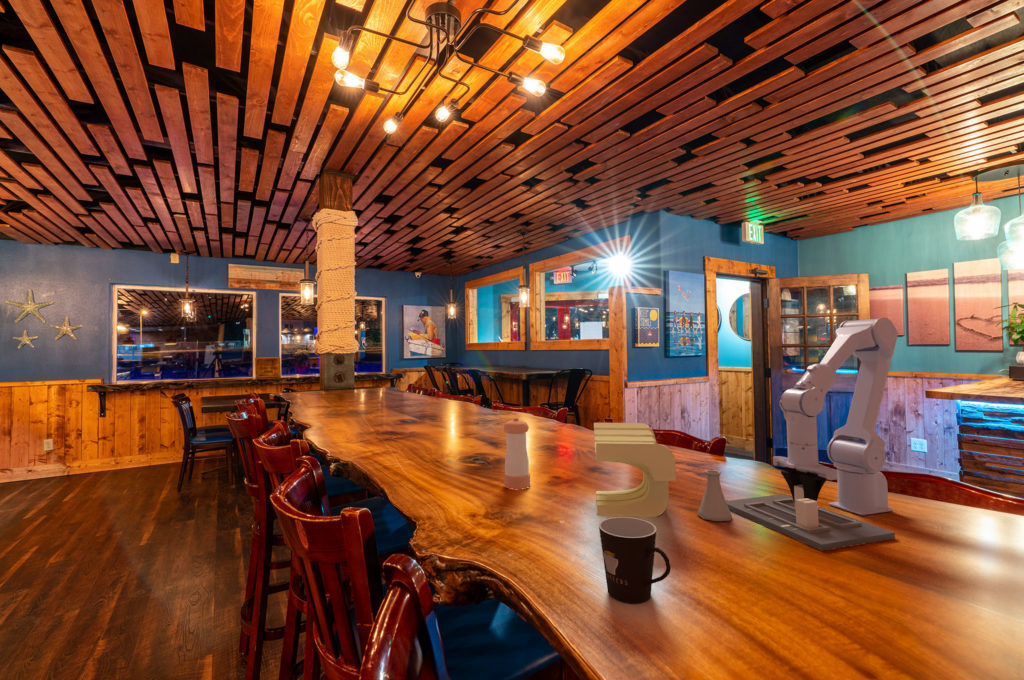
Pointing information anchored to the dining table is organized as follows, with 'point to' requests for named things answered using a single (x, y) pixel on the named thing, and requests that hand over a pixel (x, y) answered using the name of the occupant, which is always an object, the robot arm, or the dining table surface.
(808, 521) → the fader
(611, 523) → the coffee mug
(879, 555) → the dining table surface
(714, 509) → the flask
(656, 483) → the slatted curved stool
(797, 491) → the fader
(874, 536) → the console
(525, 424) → the pepper shaker
